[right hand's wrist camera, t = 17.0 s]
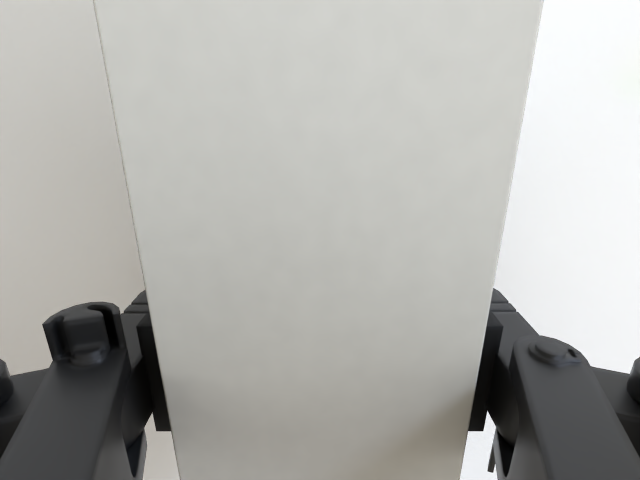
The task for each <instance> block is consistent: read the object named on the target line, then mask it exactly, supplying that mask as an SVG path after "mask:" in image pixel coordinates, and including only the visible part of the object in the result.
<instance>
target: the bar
mask: <svg viewBox="0 0 640 480" xmlns="http://www.w3.org/2000/svg"><path fill="white" fill-rule="evenodd" d="M543 1H544V0H93V3H94V8H95V14H96V19H97V25H98V30H99V36H100V41H101V47H102V52H103V58H104V63H105V69H106V74H107V80H108V85H109V91H110V96H111V102H112V107H113V113H114V118H115V124H116V129H117V135H118V140H119V146H120V151H121V157H122V162H123V168H124V173H125V179H126V184H127V190H128V196H129V201H130V207H131V212H132V218H133V223H134V229H135V234H136V240H137V245H138V251H139V256H140V262H141V267H142V273H143V278H144V284H145V289H146V295H147V300H148V306H149V311H150V317H151V322H152V328H153V333H154V339H155V344H156V350H157V355H158V361H159V366H160V372H161V377H162V383H163V388H164V394H165V399H166V405H167V410H168V416H169V421H170V427H171V432H172V438H173V443H174V449H175V454H176V460H177V465H178V471H179V476H180V480H459V479H460V474H461V468H462V462H463V457H464V451H465V445H466V440H467V434H468V428H469V422H470V417H471V411H472V405H473V400H474V394H475V388H476V383H477V377H478V371H479V366H480V360H481V354H482V348H483V343H484V337H485V331H486V326H487V320H488V314H489V309H490V303H491V297H492V292H493V286H494V280H495V274H496V269H497V263H498V257H499V252H500V246H501V240H502V235H503V229H504V223H505V218H506V212H507V206H508V201H509V195H510V189H511V183H512V178H513V172H514V166H515V161H516V155H517V149H518V144H519V138H520V132H521V127H522V121H523V115H524V109H525V104H526V98H527V92H528V87H529V81H530V75H531V70H532V64H533V58H534V53H535V47H536V41H537V35H538V30H539V24H540V18H541V13H542V7H543Z"/></svg>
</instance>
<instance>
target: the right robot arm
mask: <svg viewBox="0 0 640 480" xmlns="http://www.w3.org/2000/svg"><path fill="white" fill-rule="evenodd" d="M42 325H43V328H44V332H45V335H46V339H47V342H48V345H49V349H50V352H51V356H52V359H53V362H52V363H51V365H50V367H49V368H47V369H43V370H38V371H33V372H28V373H23V374H18V375H13V376H10V374H9V371H8V369H7V366H6V363H5V362H4V361H2V360H1V359H0V480H142V479H143V471H144V464H145V457H146V449H147V441H146V435H145V430H144V427H145V425H146V423H147V421H148V419H149V417H150V415H151V414H152V412H153V417H154V422H155V427H156V431H171V427H170V421H169V416H168V410H167V405H166V399H165V394H164V388H163V383H162V377H161V372H160V366H159V361H158V355H157V350H156V344H155V339H154V333H153V328H152V322H151V317H150V311H149V306H148V300H147V295H146V290H145V291H143V292H141V293H140V294H139V295H138V296H137V297H136V298H135V300H134V301H133V302H132V303H131V305H129V306H128V307H127V308H126V309H125V311H124V313H122V314H121V315H120V310H119V307H117V306H116V305H114V304H113V303H107V302H90V303H85V304H80V305H75V306H73V307H70V308H67V309H64V310H62V311H60V312H58V313H56V314H54V315H53V316H51V317H49V318H48V319H47V320H46V321H45V322H44V323H43V324H42ZM487 410H488V412H489V414H490V416H491V418H492V420H493V422H494V424H495V426H496V430H495V435H494V440H493V445H492V450H491V454H490V459H489V464H488V472H492V473H493V471H494V466H495V464H496V470H497V478H498V480H640V357H639V358H638V359H636V360H635V361H634V364H633V367H632V370H631V373H630V374H627V373H621V372H616V371H611V370H606V369H601V368H596V367H592V366H590V365H589V363H588V361H587V359H586V358H585V357H584V356H583V355H582V354H581V352H579V351H578V350H576V349H575V348H573V347H572V346H570V345H569V344H566V343H564V342H562V341H559V340H557V339H554V338H550V337H545V336H539V334H538V333H537V332H536V331H535V330H534V329H533V328H532V327H531V326H530V325H529V323H528V322H527V321H526V320H525V319H524V318H523V317H522V316H521V315H520V314H519V313H518V312H516V309H515V308H514V307H513V306H512V305H511V304H510V303H508V300H507V299H506V298H505V297H504V296H503V295H502V294H501V293H500V292H499V291H498V290H496V289H494V288H493V292H492V297H491V303H490V309H489V314H488V320H487V326H486V331H485V337H484V343H483V348H482V354H481V360H480V366H479V371H478V377H477V383H476V388H475V394H474V400H473V405H472V411H471V417H470V422H469V428H468V431H483V430H484V425H485V419H486V414H487Z"/></svg>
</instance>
